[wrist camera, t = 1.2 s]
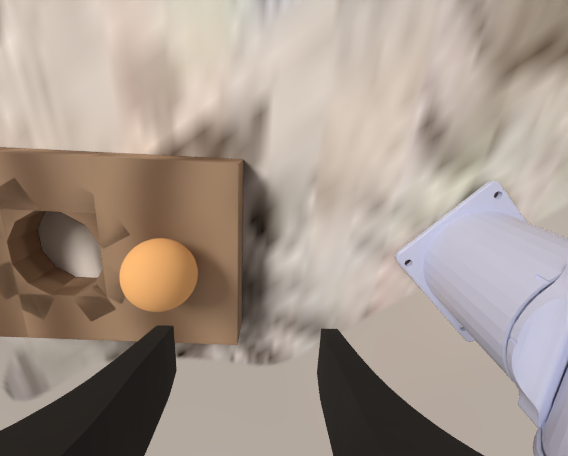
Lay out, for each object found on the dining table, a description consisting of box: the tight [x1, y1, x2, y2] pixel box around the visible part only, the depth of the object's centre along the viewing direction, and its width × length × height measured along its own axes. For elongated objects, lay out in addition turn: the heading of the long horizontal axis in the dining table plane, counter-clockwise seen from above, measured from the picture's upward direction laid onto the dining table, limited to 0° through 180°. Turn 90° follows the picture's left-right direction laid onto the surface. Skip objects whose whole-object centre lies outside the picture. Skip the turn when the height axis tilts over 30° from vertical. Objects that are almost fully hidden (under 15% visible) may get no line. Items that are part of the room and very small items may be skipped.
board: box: [0, 147, 243, 345], centre depth 20 cm, size 16×12×2 cm
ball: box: [119, 238, 198, 312], centre depth 17 cm, size 4×4×4 cm
